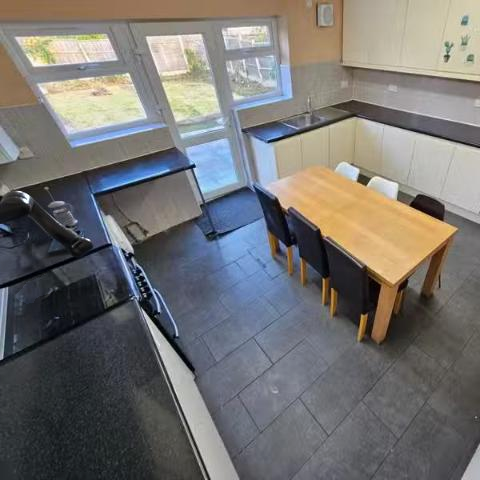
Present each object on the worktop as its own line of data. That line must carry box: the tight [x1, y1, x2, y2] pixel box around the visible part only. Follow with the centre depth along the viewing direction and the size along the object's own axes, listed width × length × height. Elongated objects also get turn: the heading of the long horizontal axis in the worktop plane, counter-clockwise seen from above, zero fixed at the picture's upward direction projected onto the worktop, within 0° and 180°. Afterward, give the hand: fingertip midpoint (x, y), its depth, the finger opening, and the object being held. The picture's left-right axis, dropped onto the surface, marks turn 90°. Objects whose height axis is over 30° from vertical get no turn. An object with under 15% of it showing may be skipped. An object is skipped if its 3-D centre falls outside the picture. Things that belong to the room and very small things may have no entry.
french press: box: [43, 186, 79, 226], centre depth 168 cm, size 10×12×25 cm
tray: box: [46, 228, 86, 256], centre depth 158 cm, size 18×14×2 cm
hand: (56, 227), depth 155 cm, fingers closed on brush, 3 cm apart
